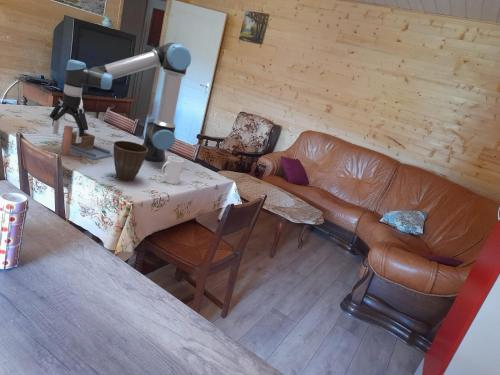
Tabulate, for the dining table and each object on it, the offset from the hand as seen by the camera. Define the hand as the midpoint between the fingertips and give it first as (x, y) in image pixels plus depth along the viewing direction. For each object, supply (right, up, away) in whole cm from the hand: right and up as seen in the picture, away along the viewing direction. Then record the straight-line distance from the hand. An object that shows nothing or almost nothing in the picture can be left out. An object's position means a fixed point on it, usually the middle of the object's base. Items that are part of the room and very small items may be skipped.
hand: (66, 138), depth 168 cm
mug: (+47, -21, +8) cm, 52 cm away
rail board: (+3, -5, +15) cm, 16 cm away
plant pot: (+30, -20, -4) cm, 36 cm away
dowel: (-2, -7, +3) cm, 8 cm away
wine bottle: (-29, +20, +62) cm, 72 cm away
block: (0, -3, +15) cm, 15 cm away
